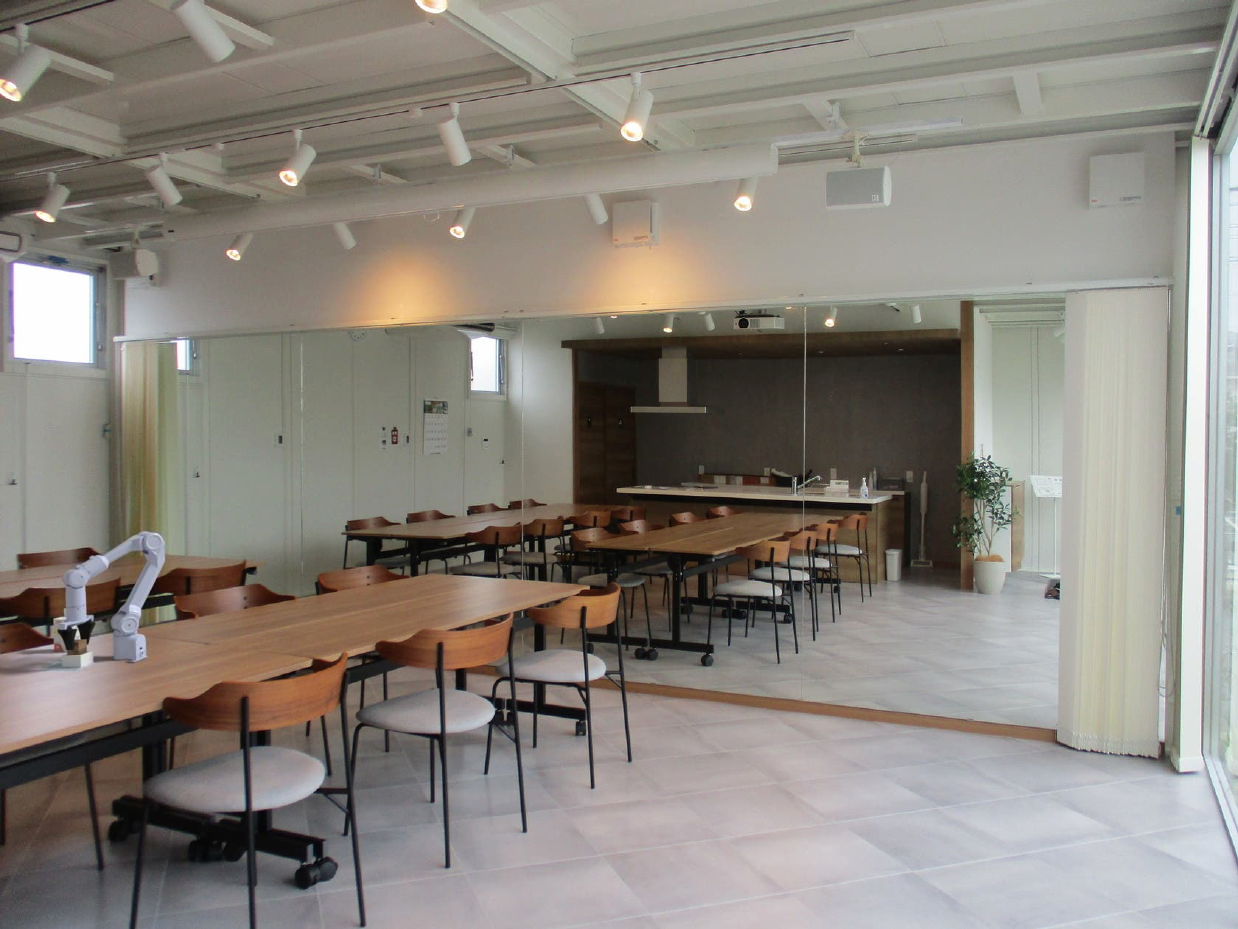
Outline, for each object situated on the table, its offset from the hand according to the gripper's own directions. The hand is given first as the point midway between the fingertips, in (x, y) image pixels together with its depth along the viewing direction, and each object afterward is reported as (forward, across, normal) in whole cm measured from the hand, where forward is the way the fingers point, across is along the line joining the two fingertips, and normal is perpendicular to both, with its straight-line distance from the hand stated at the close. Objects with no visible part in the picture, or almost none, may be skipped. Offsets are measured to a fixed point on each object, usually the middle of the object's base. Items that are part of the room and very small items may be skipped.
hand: (77, 647), depth 306 cm
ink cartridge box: (+7, -25, -21) cm, 33 cm away
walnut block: (+3, 0, 0) cm, 3 cm away
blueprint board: (+7, +2, -3) cm, 8 cm away
